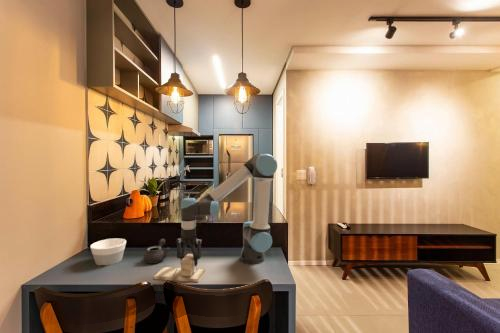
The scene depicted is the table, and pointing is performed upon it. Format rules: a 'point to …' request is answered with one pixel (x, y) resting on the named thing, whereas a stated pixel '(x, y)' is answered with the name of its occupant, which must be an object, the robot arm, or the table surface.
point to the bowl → (108, 251)
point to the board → (178, 274)
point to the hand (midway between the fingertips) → (189, 271)
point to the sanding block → (187, 266)
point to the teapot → (156, 253)
